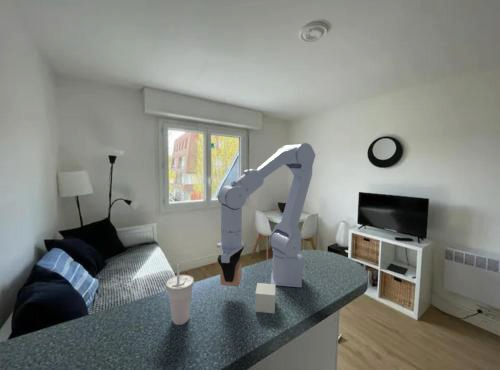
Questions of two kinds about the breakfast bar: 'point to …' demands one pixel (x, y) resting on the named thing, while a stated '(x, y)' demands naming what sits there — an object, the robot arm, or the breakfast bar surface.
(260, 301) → the offwhite cube
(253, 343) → the breakfast bar surface
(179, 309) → the white cup with straw
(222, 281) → the terracotta cube
